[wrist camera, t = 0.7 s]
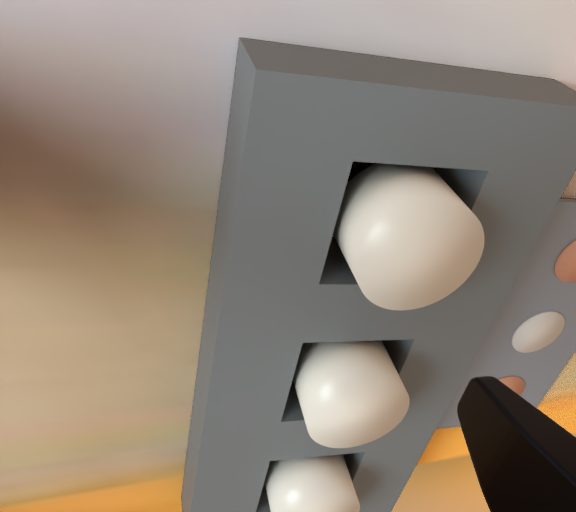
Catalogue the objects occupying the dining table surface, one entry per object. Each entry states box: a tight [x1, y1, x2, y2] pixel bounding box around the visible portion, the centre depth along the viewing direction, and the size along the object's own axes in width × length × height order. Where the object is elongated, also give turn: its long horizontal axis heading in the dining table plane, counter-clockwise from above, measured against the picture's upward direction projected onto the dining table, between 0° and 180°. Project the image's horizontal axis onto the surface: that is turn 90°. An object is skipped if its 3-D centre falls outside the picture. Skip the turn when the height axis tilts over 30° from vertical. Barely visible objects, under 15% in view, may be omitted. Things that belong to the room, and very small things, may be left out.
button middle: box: [293, 340, 410, 448], centre depth 23 cm, size 4×4×3 cm
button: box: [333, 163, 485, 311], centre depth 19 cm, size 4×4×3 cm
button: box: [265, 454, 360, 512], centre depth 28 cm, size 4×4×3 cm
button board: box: [181, 38, 576, 512], centre depth 25 cm, size 26×12×3 cm, turn 169°
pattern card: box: [436, 198, 576, 429], centre depth 29 cm, size 16×7×1 cm, turn 169°
